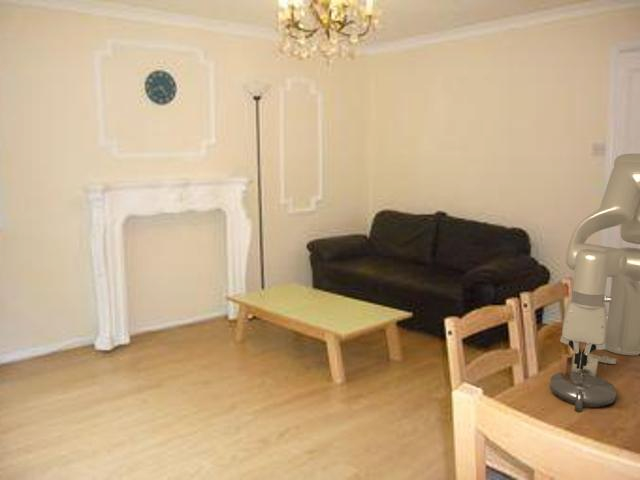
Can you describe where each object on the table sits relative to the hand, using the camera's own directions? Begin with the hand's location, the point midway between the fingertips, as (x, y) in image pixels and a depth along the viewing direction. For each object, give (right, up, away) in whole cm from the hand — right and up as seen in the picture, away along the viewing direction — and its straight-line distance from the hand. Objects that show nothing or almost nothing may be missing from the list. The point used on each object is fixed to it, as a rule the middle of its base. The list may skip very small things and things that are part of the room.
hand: (579, 367), depth 151 cm
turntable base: (-1, -7, -4) cm, 8 cm away
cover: (+4, -4, +8) cm, 10 cm away
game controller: (+14, -4, +17) cm, 22 cm away
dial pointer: (-5, -8, -11) cm, 15 cm away
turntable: (-1, -5, -4) cm, 7 cm away
